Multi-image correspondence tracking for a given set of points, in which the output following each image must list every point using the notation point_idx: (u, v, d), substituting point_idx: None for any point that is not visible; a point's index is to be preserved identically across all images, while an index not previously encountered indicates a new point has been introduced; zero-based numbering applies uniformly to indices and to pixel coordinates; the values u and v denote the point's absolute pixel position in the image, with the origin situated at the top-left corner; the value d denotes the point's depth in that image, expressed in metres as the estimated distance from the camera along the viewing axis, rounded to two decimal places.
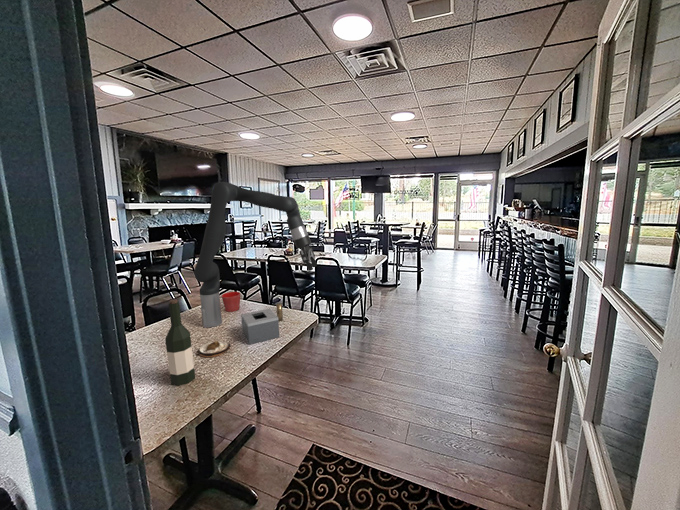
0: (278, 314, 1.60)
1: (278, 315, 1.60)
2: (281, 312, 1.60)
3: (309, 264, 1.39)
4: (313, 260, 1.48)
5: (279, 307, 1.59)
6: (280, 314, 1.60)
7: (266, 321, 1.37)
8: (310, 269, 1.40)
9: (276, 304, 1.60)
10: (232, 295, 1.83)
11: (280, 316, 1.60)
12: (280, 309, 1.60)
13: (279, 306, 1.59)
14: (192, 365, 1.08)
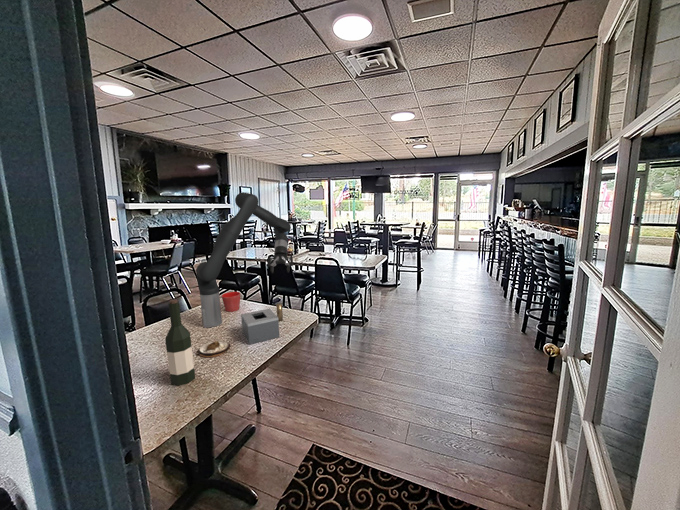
0: (278, 314, 1.60)
1: (278, 315, 1.60)
2: (281, 312, 1.60)
3: (289, 268, 1.72)
4: (273, 268, 1.71)
5: (279, 307, 1.59)
6: (280, 314, 1.60)
7: (266, 321, 1.37)
8: (288, 271, 1.70)
9: (276, 304, 1.60)
10: (232, 295, 1.83)
11: (280, 316, 1.60)
12: (280, 309, 1.60)
13: (279, 306, 1.59)
14: (192, 365, 1.08)
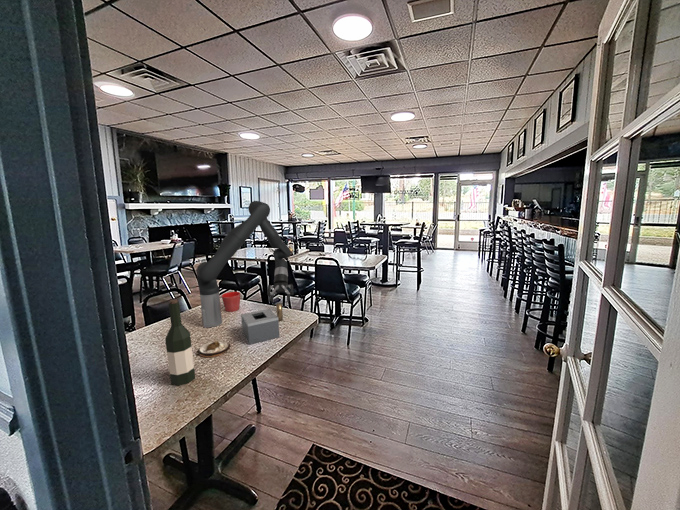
0: (278, 314, 1.60)
1: (278, 315, 1.60)
2: (281, 312, 1.60)
3: None
4: None
5: (279, 307, 1.59)
6: (280, 314, 1.60)
7: (266, 321, 1.37)
8: (288, 300, 1.65)
9: (276, 304, 1.60)
10: (232, 295, 1.83)
11: (280, 316, 1.60)
12: (280, 309, 1.60)
13: (279, 306, 1.59)
14: (192, 365, 1.08)
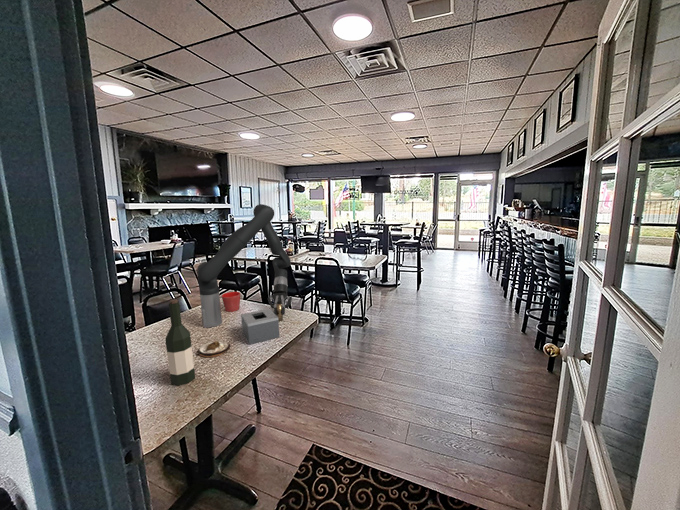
0: (278, 314, 1.60)
1: (278, 315, 1.60)
2: (281, 312, 1.60)
3: None
4: (276, 309, 1.61)
5: (279, 307, 1.59)
6: (280, 314, 1.60)
7: (266, 321, 1.37)
8: (283, 313, 1.60)
9: (276, 304, 1.60)
10: (232, 295, 1.83)
11: (280, 316, 1.60)
12: (280, 309, 1.60)
13: (279, 306, 1.59)
14: (192, 365, 1.08)
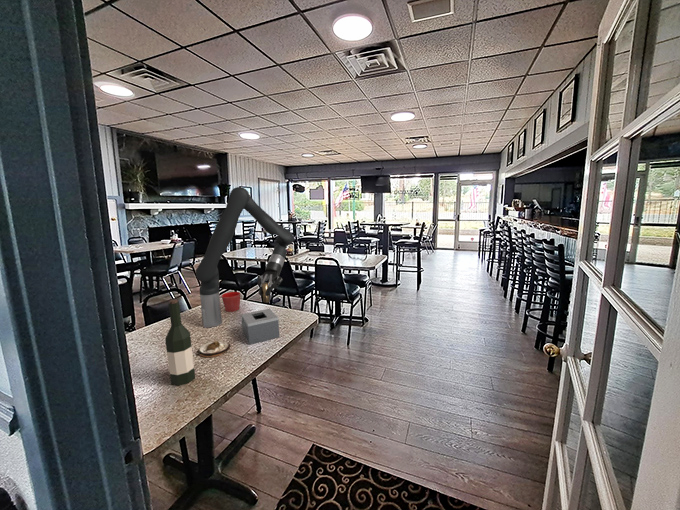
0: (263, 294, 1.44)
1: (263, 295, 1.45)
2: None
3: None
4: None
5: (264, 286, 1.43)
6: None
7: (266, 321, 1.37)
8: (267, 294, 1.43)
9: (262, 283, 1.45)
10: (232, 295, 1.83)
11: (265, 297, 1.44)
12: (265, 289, 1.44)
13: (264, 285, 1.43)
14: (192, 365, 1.08)
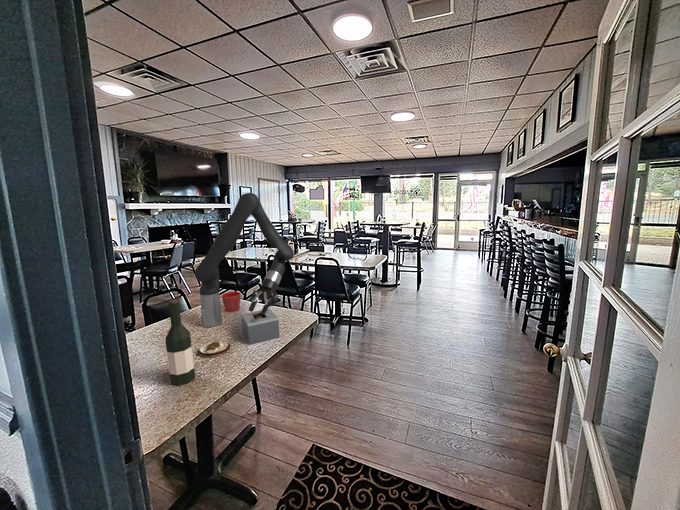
0: None
1: None
2: None
3: (267, 308, 1.40)
4: (254, 305, 1.44)
5: None
6: None
7: (266, 321, 1.37)
8: (263, 312, 1.39)
9: (256, 317, 1.43)
10: (232, 295, 1.83)
11: None
12: None
13: None
14: (192, 365, 1.08)
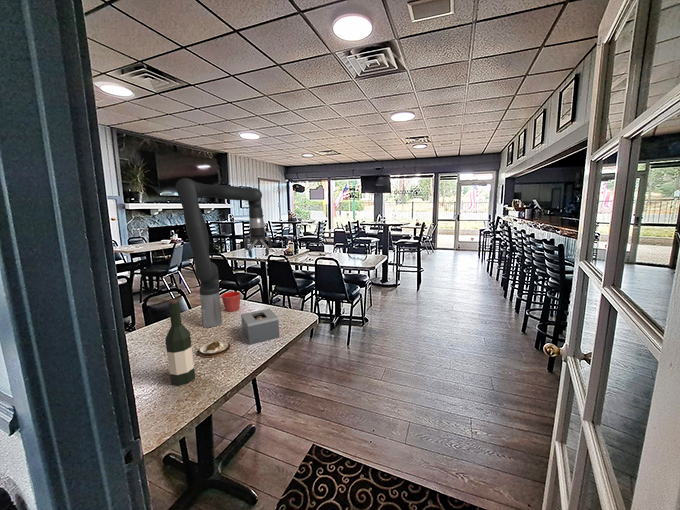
0: None
1: None
2: None
3: None
4: None
5: None
6: None
7: (266, 321, 1.37)
8: None
9: (256, 317, 1.43)
10: (232, 295, 1.83)
11: None
12: None
13: None
14: (192, 365, 1.08)
